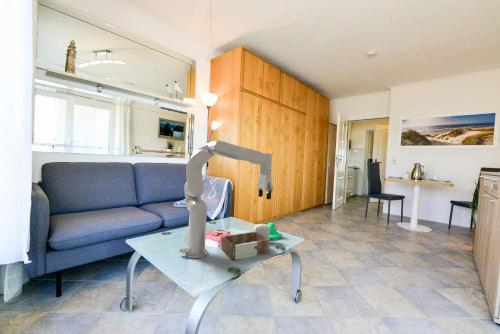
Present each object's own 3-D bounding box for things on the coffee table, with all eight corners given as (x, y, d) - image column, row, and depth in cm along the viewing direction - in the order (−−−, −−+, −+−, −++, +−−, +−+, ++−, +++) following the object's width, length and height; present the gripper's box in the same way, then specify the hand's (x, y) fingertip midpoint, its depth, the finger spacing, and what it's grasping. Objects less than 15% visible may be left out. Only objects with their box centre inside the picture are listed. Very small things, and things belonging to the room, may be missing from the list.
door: (234, 260, 117) (235, 246, 117) (233, 258, 119) (233, 245, 119) (257, 255, 124) (258, 242, 124) (255, 253, 126) (256, 241, 126)
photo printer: (268, 241, 148) (269, 223, 148) (269, 243, 144) (270, 225, 144) (253, 241, 147) (254, 223, 147) (254, 243, 143) (255, 225, 142)
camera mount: (269, 241, 149) (269, 226, 148) (262, 237, 155) (263, 223, 155) (282, 238, 155) (283, 224, 155) (275, 235, 161) (276, 221, 161)
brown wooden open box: (231, 260, 118) (232, 246, 117) (221, 249, 132) (221, 236, 131) (268, 253, 129) (269, 239, 129) (255, 243, 143) (255, 231, 143)
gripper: (253, 171, 149) (253, 195, 149) (268, 173, 133) (267, 200, 134) (263, 171, 152) (262, 195, 153) (278, 173, 137) (276, 199, 138)
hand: (264, 197), depth 143 cm, fingers open, 9 cm apart
